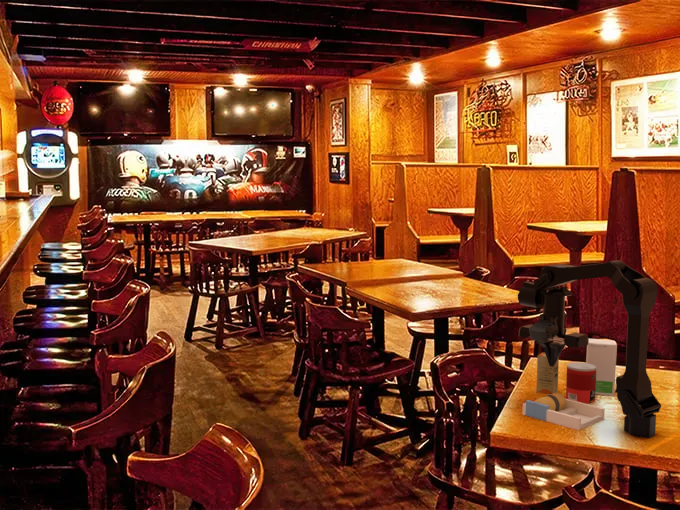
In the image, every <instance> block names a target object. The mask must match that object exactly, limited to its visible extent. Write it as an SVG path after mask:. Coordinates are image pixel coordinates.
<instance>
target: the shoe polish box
mask: <svg viewBox="0 0 680 510" xmlns="http://www.w3.org/2000/svg"><path fill="white" fill-rule="evenodd" d="M536 358H537V361H536V363H537V364H536V368H537V369H536V394H538V393H540V394H547V395H549V394H553V393H558V392H559V390H558V389H559V367H560V366H559V360H560V359H559V358H560V356H559V357H558V359H557V361H556V363H555V365H554V366H553V367H551V366H549V363H548V360H547V357H546V354H545V351H542V352H541V353H540V354H538V355H537V357H536Z"/></svg>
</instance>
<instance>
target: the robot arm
mask: <svg viewBox="0 0 680 510" xmlns="http://www.w3.org/2000/svg"><path fill="white" fill-rule="evenodd" d="M606 277H607V278H609V280H611V283H612V285H613V286H614V288H615V289H616V290H617V291H618V292H619V293H620V294H621V297H622V305H623V306H624V309H625V311H626V313H627V327H626V328H627V331H626V332H627V333H626V349H625V351H626V352H625V369H624V373H623V374H622V375H618V376H615V389H614V394H616V397H617V401H618V402H619V403H620V406H621V410H622V414H623V415H624V420H623V432H625V433H627V434H629V435H630V436H632V437H636V438H642V439H651V438H654V437H655V436H656V427H657V426H656V424H657V414H656V413H659V412H661V411H660V410H661V408H662V403H660V401H659V400H658V399H657V398H656V396H655V395H654V394H653V389H652V387H653V386H652V381H651V378H650V376H649V375H648V372H647V363H648V362H647V361H648V341H649V339H648V338H649V325H650V324H649V319H650V318H649V317H650V314H651V312H652V310H653V308H654V306H655V304H656V301H657V296H658V290H659V289H658V286H657V283H656V282H655V281H654V279H653V280H652V279H651V278H648V277H647V276H645V275H644V274H642V273H641V272H639V271H637V270H635V269H633V268H632V267H630V266H629V265H627V263H625V262H624V261H622V260H611V261H610V260H609V261H607V262H602V263H601V262H600V263H593V264H585V265H583V264H582V265H572V264H562V263H561V264H560V263H558V264H551V265H545V266H543V267H542V268H541V270H540V273H539V275H538V277H537V279H536V280H535V282H533V281H523V282H522V287H520V289H519V292H518V293H517V300H518V303H519V304H520V305H522V306H526V307H532V308H537V309H541V308H542V313H540V314H539V318H538V321H537V322H535V323H534V324H527V325H522V326H521V327H519V330H518V337H519V338H520V337H521V338H524V339H528V338H530V340H532V341H536V344H539V345H540V346H541V347H542V349H543V352H544V353H545V354H546V357H547V360H548V363H549V366H551V367H553V366H554V365H555V363H556V361H557V359H558V357H559V358H560V355H561V354H562V351H563V350H564V349H565V348H566V347H570V348H582V347H585V346H587V345H588V342H589V339H590V338H589V337H588V335H587V334H585V333H580V332H572V333H568V334H567V328H565V319H567V318H568V314H567V313H565V312H566V311H565V309H566V308H565V306H566V305H565V303H566V302H565V301H566V297H569V296H570V297H571V296H573V293H572V291H570V289H569V288H568V287H567V286H564V285H568V284H570V283H573V282H575V281H578V280H588V279H599V278H606ZM558 286H561V287H560V288H558ZM565 333H566V334H565ZM588 338H589V339H588Z"/></svg>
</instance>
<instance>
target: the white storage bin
mask: <svg viewBox="0 0 680 510" xmlns="http://www.w3.org/2000/svg"><path fill="white" fill-rule="evenodd" d="M548 395H550V394H548ZM564 398H565V400H566V406H565V408H564V409H562V410H560V411H553V410H550V409H549V405H545V404H541V403H537V402H535V400H534V401H533V400H529V399H527V400H525V402H524V403H522V415H523V416H527V417H531V418H532V419H533V418H534V419H537V420H541V421H544V422H548V423H551V424H554V425H559V426H561V427H566V428H569V429H572V430H577V431H580V430H582V429H586V428H587V427H589V426H592V425H594V424H597V423H599V422H601V421H604V420H605V408H604V407H601V406H597V405H592V404H585V403H581V402H577V401H573V400H570V399H566V397H564Z"/></svg>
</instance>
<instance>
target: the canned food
mask: <svg viewBox="0 0 680 510" xmlns="http://www.w3.org/2000/svg"><path fill="white" fill-rule="evenodd" d="M565 387H566V388H565V398H566V399H570V400H573V401H577V402H581V403H585V404H589V405H591V404H594V403H595V402H596V394H595V391H596V366H595V365H592V364H589V363H586V362H581V361H580V362H579V361H578V362H576V361H575V362H569V363H567V365H566V385H565Z"/></svg>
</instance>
